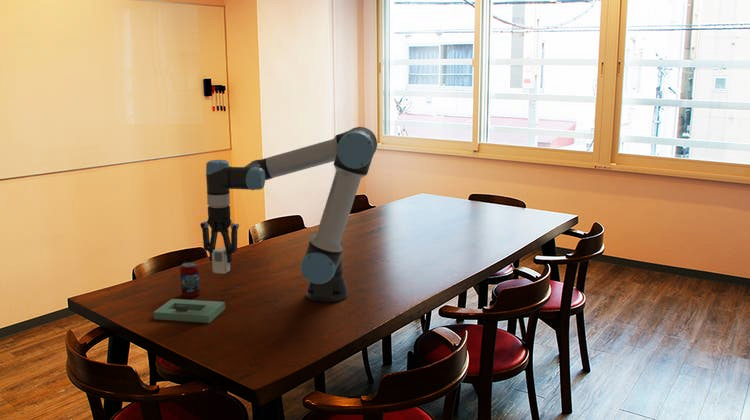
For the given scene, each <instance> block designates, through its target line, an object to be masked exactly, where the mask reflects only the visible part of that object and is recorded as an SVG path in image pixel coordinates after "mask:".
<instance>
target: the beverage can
mask: <svg viewBox="0 0 750 420" xmlns="http://www.w3.org/2000/svg"><path fill="white" fill-rule="evenodd" d="M179 273H180V287H181V294H182V296H183V297H184V298H195V297H197V296H199V295H200V294H201V293H202V291H201V278H200V275H201V274H200V267H199V266H198V264H197V262H194V261H188V262H183V263H181V266H180V269H179Z"/></svg>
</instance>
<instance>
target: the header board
mask: <svg viewBox="0 0 750 420" xmlns="http://www.w3.org/2000/svg"><path fill="white" fill-rule="evenodd" d="M225 309H226V301H212V300H199V299H198V300H196V299H182V298H181V299H180V298H171V299H169V300H168V301H166V302H165V303H164V304H163V305H161V306H159V307H158V308H157V309H156V310H155V311H153V319H154V320H163V321H164V320H165V321H173V322H174V321H177V322H178V321H179V322H191V323H203V324H205V323H206V324H210V323H211V322H212V321H213V320H214V319H216V317H218V316H219V315H220V314H221V313H222V312H224V310H225Z"/></svg>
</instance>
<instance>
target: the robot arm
mask: <svg viewBox="0 0 750 420" xmlns="http://www.w3.org/2000/svg"><path fill="white" fill-rule="evenodd" d="M377 148H378V141H377V137H376V135H375V133H374V132H373V131H372V130H370V129H369V128H367V127H364V126H357V127H356V126H355V127H353V128H351V129H349V130H347V131H344V132H342V133H338V134H336V135H335V136H334V137H333V138H332V139H329V140H325V141H324V140H323V141H321V142H318V143H314V144H310V145H307V146H304V147H301V148H297V149H293V150H290V151H286V152H282V153H280V154H275V155H273V156H269V157H266V158H261V159H254V160H252V161H251V162H249V163H247V165H245V166H230V164H229V161H228V160H227V159H226V160H225V159H212V160H211V159H210V160H208V161H207V162H206V164H205V165H206V166H205V167H206V168H205V169H206V170H205V177H206V195H207V196H206V201H207V203H206V205H208V206H207V217H208V218H207V221H206V220H205V221H202V222H201V223H200V224H199V225H200V228H201V232H202V240H203V241H202V244H203V250H204V251H205V252H208V253H209V261H210V262H211V264H212V265H211V267H212V269H211V270H212V272H214V267H213V250H215V249H216V245H217V238H218V234H219V233H221V236H222V240H223V245H224V248H225V249H226V254H225V272H226V273H228V272H230V271H231V263H232V262H233V254H234V253H235V252H237V251H238V229H239V227H240V225H239V224H238V223H233V222H232V219H231V206H230V204H231V200H230V199H231V196H230V193H231V192H230V190H249V191H257V190H258V191H259V190H262V189H264V187H265V185H266V184H265V183H266V181H267V180H268V181H269V180H272V179H273V178H278V177H282V176H285V175H289V174H293V173H296V172H299V171H304V170H307V169H311V168H315V167H319V166H322V165H325V164H330V163H332V162H333V166H334V168H335V174H334V176H333V180H332V184H331V186H330V190H329V193H328V196H327V200H326V203H325V206H324V209H323V213H322V215H321V218H320V222H319V225H318V228H317V232H316V234H313V235H311V236H310V237H309V242H308V245H307V248H306V251H305V255H304V257H303V258H302V260H301V262H300V272H301V274H302V276H303V277H304V279H305V280H306V281H308V286H307V288H306V298H307V299H309V300H310V301H313V302H318V303H334V302H339V301H343V300H345V299H346V298H348V296H349V289H348V285H347V282H346V280H345V278H344V275H343V274H344V273H343V270H344V269H343V265H344V264H343V250H344V249H343V244H344V243H343V239H342V237H343V235H344V231H345V228H346V225H347V222H348V220H349V216H350V214H351V211H352V208H353V204H354V201H355V198H356V194H357V191H358V189H359V186H360V183H361V180H362V178H364V177H366V176H367V175H368V173H369V170H370V166H371V164H372V159H373V158H374V155H375V154H376V152H377ZM209 227H210V228H209ZM229 228H230V231H231V232H229ZM210 229H211V231H210ZM210 234H211V235H210ZM229 234H230V235H229Z"/></svg>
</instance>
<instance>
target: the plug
mask: <svg viewBox="0 0 750 420" xmlns="http://www.w3.org/2000/svg"><path fill="white" fill-rule="evenodd" d="M225 254H226V249H225V247H217V248H216V247H215V250H213V267H214V271H213V274H223V275H224V274H227V272H225Z"/></svg>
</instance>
